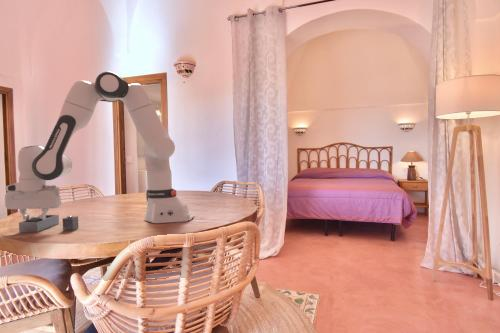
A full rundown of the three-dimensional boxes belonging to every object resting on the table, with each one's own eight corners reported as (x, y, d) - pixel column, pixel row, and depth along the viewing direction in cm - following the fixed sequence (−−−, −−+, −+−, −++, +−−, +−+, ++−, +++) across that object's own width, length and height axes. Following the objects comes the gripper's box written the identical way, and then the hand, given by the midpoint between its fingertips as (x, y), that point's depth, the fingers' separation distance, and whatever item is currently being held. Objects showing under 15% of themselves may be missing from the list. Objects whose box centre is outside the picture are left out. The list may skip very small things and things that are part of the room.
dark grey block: (78, 228, 122) (77, 214, 121) (73, 230, 118) (72, 217, 117) (68, 228, 121) (68, 215, 121) (62, 230, 117) (62, 217, 117)
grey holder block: (42, 223, 129) (42, 214, 129) (59, 223, 130) (58, 214, 129) (19, 232, 115) (18, 222, 115) (37, 232, 116) (37, 222, 115)
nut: (43, 228, 121) (42, 215, 121) (36, 231, 117) (35, 217, 117) (33, 229, 121) (32, 215, 121) (26, 231, 117) (25, 218, 117)
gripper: (63, 184, 122) (65, 217, 122) (13, 185, 121) (15, 218, 122) (54, 186, 115) (55, 220, 116) (0, 187, 115) (2, 221, 115)
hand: (34, 219), depth 119 cm, fingers open, 5 cm apart
